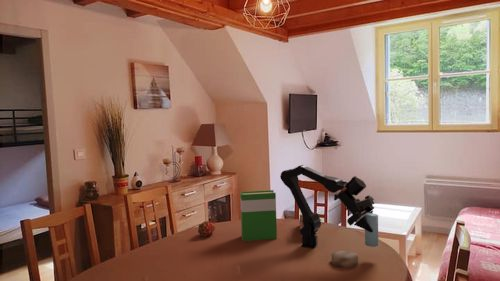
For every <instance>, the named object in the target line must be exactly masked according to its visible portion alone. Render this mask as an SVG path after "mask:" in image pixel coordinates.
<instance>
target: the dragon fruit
mask: <svg viewBox="0 0 500 281" xmlns="http://www.w3.org/2000/svg"><path fill="white" fill-rule="evenodd" d="M197 230H198V231H197V234H199V235H200V236H203V237H205V238H207V237H208V236H213V233H214V232H215V230H216V228H215V226H214V223H212V222H211V221H209V220H206V221H204V222H202V223H201V224H199V225H198V229H197Z"/></svg>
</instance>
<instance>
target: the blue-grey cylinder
mask: <svg viewBox="0 0 500 281" xmlns="http://www.w3.org/2000/svg"><path fill="white" fill-rule="evenodd" d="M365 215H366V221H367V223H368V224H369V225H370V227H371V228H372V230H373V232H372V233H371V232H369V231H367V230H365V229H364V245H365V246H367V247H371V248H374V247H378V246H379V214H377V213H373V214H372V213H368V214H365Z"/></svg>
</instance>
